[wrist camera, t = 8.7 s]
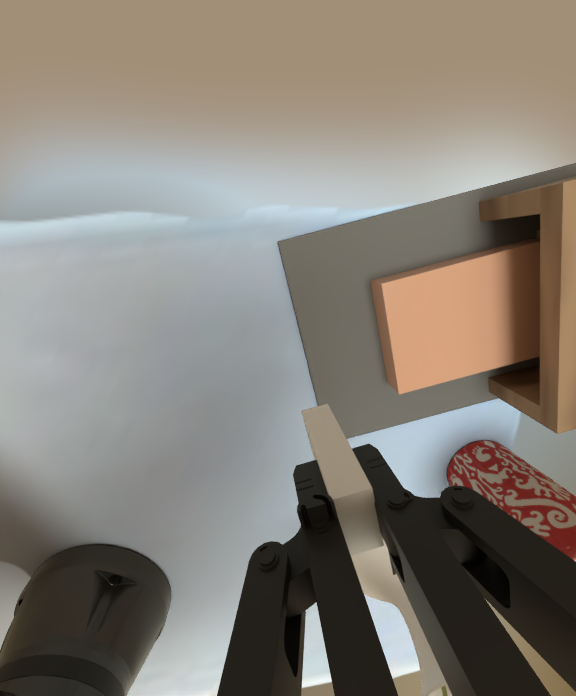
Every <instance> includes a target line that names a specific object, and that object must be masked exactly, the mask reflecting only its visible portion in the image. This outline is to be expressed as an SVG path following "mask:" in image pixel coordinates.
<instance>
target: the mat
mask: <svg viewBox="0 0 576 696" xmlns="http://www.w3.org/2000/svg"><path fill="white" fill-rule="evenodd" d="M575 176H576V163H574V164H570V165H567V166H563V167H559V168H556V169H552V170H548V171H544V172H540V173H536V174H533V175H529V176H525V177H521V178H518V179H514V180H510V181H506V182H502V183H499V184H495V185H491V186H487V187H484V188H480V189H476V190H472V191H468V192H465V193H461V194H458V195H453V196H450V197H446V198H442V199H439V200H435V201H431V202H427V203H423V204H419V205H416V206H412V207H408V208H404V209H400V210H397V211H393V212H389V213H385V214H382V215H378V216H374V217H370V218H366V219H363V220H359V221H355V222H351V223H348V224H344V225H340V226H336V227H332V228H329V229H325V230H321V231H317V232H313V233H310V234H306V235H302V236H298V237H295V238H291V239H287V240H283V241H279V242H278V245H279V249H280V253H281V257H282V261H283V265H284V269H285V273H286V277H287V281H288V285H289V289H290V293H291V297H292V301H293V305H294V309H295V313H296V317H297V321H298V325H299V329H300V333H301V338H302V342H303V346H304V350H305V354H306V358H307V362H308V366H309V370H310V374H311V378H312V382H313V386H314V390H315V394H316V398H317V402H318V406H321V405H325V404H328V405H329V407H330V409H331V411H332V413H333V414H334V416H335V418H336V420H337V422H338V424H339V426H340V428H341V430H342V432H343V433H344V435H345V437H346V439H348V438H352V437H355V436H359V435H363V434H366V433H370V432H374V431H378V430H381V429H385V428H389V427H393V426H396V425H400V424H404V423H407V422H411V421H415V420H419V419H422V418H426V417H430V416H434V415H437V414H441V413H445V412H448V411H452V410H456V409H460V408H463V407H467V406H471V405H474V404H478V403H482V402H486V401H489V400H493V399H497V398H498V397H496V396H495V395H493V394H492V393H490V392H489V384H488V378H489V377H493V376H496V375H500V374H504V373H508V372H511V371H515V370H519V369H523V368H526V367H530V366H534V365H537V364H540V356H539V357H536V358H532V359H528V360H525V361H521V362H517V363H513V364H510V365H506V366H502V367H499V368H495V369H491V370H488V371H484V372H480V373H477V374H473V375H469V376H466V377H462V378H458V379H455V380H451V381H447V382H443V383H440V384H436V385H432V386H429V387H425V388H421V389H418V390H414V391H410V392H407V393H403V394H398V393H397V392H396V391H395V390H394V389H393V388H392V387H391V386H390V385H389V384H388V381H387V376H386V370H385V364H384V358H383V352H382V346H381V340H380V334H379V328H378V322H377V316H376V310H375V304H374V299H373V293H372V287H371V281H372V280H376V279H380V278H383V277H387V276H391V275H395V274H398V273H402V272H406V271H409V270H413V269H417V268H421V267H424V266H428V265H432V264H435V263H439V262H443V261H447V260H450V259H454V258H458V257H461V256H465V255H469V254H472V253H476V252H480V251H484V250H487V249H491V248H495V247H498V246H502V245H506V244H510V243H513V242H517V241H521V240H524V239H537V230H539V229H540V214H535V215H528V216H520V217H513V218H505V219H498V220H491V221H483V222H480V215H479V202H480V201H484V200H488V199H492V198H495V197H499V196H503V195H507V194H510V193H514V192H518V191H522V190H526V189H529V188H533V187H537V186H541V185H544V184H548V183H552V182H556V181H559V180H563V179H567V178H571V177H575Z"/></svg>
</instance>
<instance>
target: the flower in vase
mask: <svg viewBox="0 0 576 696" xmlns="http://www.w3.org/2000/svg"><path fill="white" fill-rule="evenodd" d="M382 538H383V537H382ZM383 542H384V546H382V547H378V548H375V549H372V550H369V551H365V552H362V553H359V554H355V555H352V556H351V558H352V561H353V564H354V567H355V570H356V573H357V576H358V579H359V581H360V584H361V587H362V590H363V593H364V594H365V595H367V596H369V597H372V598H375V599H378V600H381V601H385V602H389V603H392V604H393V605H395V606H396V607H397V608H398V609H399V610H400V612H401V614H402V616H403V617H404V619H405V622H406V624H407V626H408V629H409V632H410V634H411V637H412V640H413V643H414V646H415V650H416V653H417V657H418V661H419V665H420V670H421V678H422V696H452V694H451V691H450V689H449V687H448V685H447V683H446V680H445V678H444V676H443V674H442V672H441V670H440V667H439V665H438V663H437V661H436V659H435V656H434V654H433V652H432V650H431V648H430V646H429V643H428V641H427V639H426V637H425V635H424V632H423V630H422V628H421V626H420V624H419V622H418V619H417V617H416V615H415V613H414V611H413V608H412V606H411V604H410V602H409V600H408V598H407V595H406V593H405V591H404V589H403V587H402V584H401V582H400V580H399V578H398V576H397V574H395V575H393V572H392V567H391V562H390V557H389V552H388V548H387V546H386V544H385V541H384V539H383Z"/></svg>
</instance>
